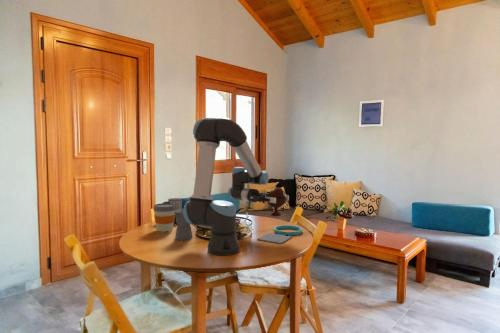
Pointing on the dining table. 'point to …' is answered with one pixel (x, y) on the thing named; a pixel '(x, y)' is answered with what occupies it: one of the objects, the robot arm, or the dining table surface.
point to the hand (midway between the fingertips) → (282, 199)
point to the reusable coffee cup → (164, 216)
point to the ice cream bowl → (277, 200)
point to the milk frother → (177, 204)
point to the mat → (274, 238)
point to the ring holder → (287, 228)
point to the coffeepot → (182, 226)
